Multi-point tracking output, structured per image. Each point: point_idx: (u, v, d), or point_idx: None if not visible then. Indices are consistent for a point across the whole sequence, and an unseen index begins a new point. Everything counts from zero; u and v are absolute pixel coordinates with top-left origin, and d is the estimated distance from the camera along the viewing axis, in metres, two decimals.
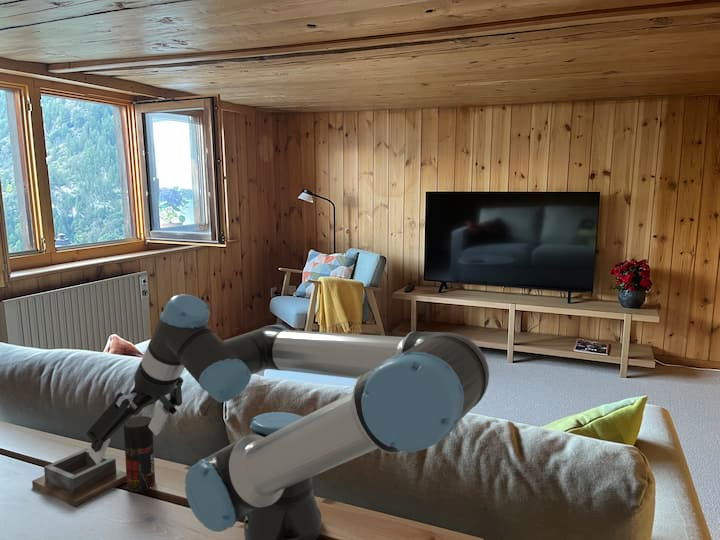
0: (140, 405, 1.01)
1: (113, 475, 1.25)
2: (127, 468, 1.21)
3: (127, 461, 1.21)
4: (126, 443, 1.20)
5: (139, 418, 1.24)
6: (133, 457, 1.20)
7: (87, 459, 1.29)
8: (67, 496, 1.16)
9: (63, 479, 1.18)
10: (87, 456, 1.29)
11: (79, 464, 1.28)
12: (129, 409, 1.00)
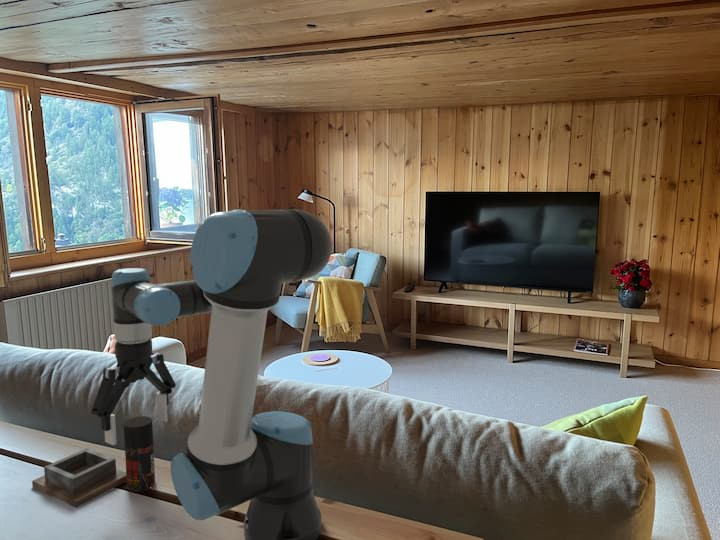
0: (128, 376, 1.17)
1: (113, 475, 1.25)
2: (127, 468, 1.21)
3: (127, 461, 1.21)
4: (126, 443, 1.20)
5: (139, 418, 1.24)
6: (133, 457, 1.20)
7: (87, 459, 1.29)
8: (67, 496, 1.16)
9: (63, 479, 1.18)
10: (87, 456, 1.29)
11: (79, 464, 1.28)
12: (120, 383, 1.17)
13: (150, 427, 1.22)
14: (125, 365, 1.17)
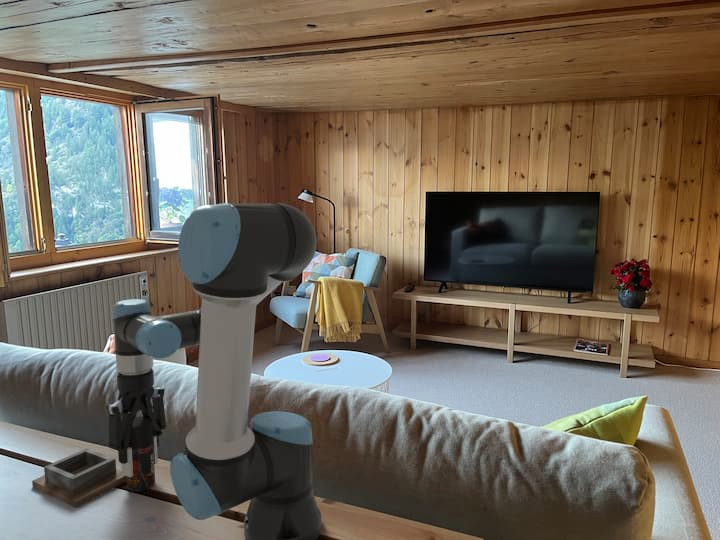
0: (132, 408, 1.19)
1: (113, 475, 1.25)
2: None
3: None
4: None
5: (139, 418, 1.24)
6: (133, 457, 1.20)
7: (87, 459, 1.29)
8: (67, 496, 1.16)
9: (63, 479, 1.18)
10: (87, 456, 1.29)
11: (79, 464, 1.28)
12: (127, 416, 1.19)
13: (150, 427, 1.22)
14: (126, 397, 1.17)
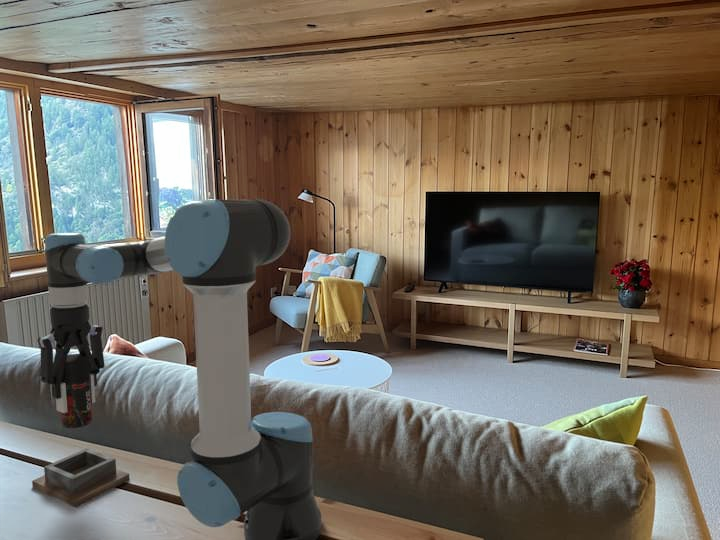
0: (65, 342, 1.17)
1: (113, 475, 1.25)
2: None
3: None
4: None
5: (75, 355, 1.22)
6: (67, 392, 1.18)
7: (87, 459, 1.29)
8: (67, 496, 1.16)
9: (63, 479, 1.18)
10: (87, 456, 1.29)
11: (79, 464, 1.28)
12: (60, 350, 1.17)
13: (85, 363, 1.20)
14: (58, 330, 1.16)
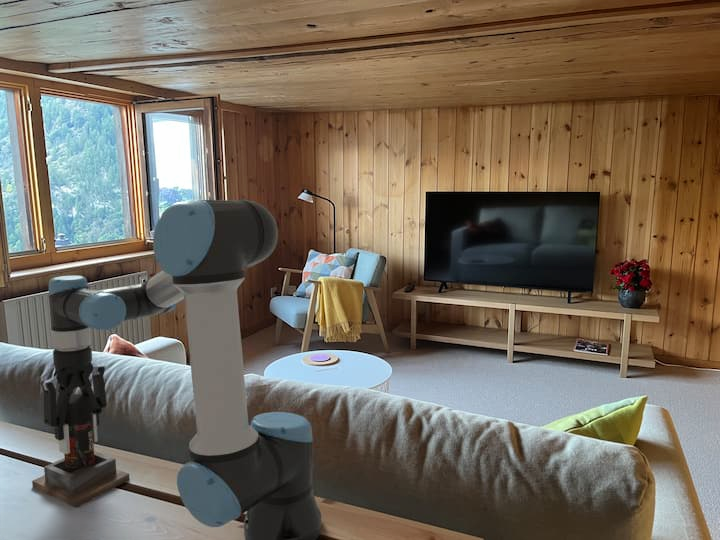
0: (68, 385, 1.18)
1: (113, 475, 1.25)
2: None
3: None
4: None
5: (78, 395, 1.23)
6: (70, 433, 1.20)
7: None
8: (67, 496, 1.16)
9: (63, 479, 1.18)
10: None
11: None
12: (63, 392, 1.18)
13: (88, 404, 1.21)
14: (61, 373, 1.17)
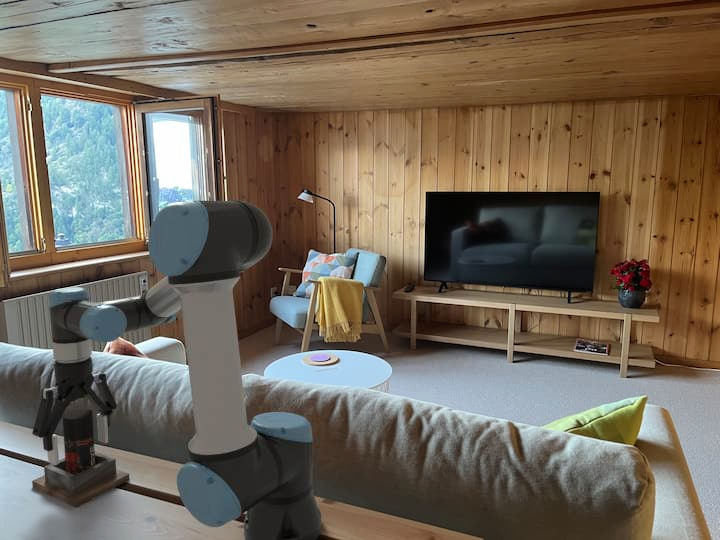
0: (67, 395, 1.18)
1: (113, 475, 1.25)
2: (66, 460, 1.21)
3: (66, 453, 1.21)
4: (65, 435, 1.20)
5: (80, 410, 1.24)
6: (71, 449, 1.20)
7: None
8: (67, 496, 1.16)
9: (63, 479, 1.18)
10: None
11: None
12: (60, 403, 1.18)
13: (90, 419, 1.22)
14: (63, 384, 1.18)
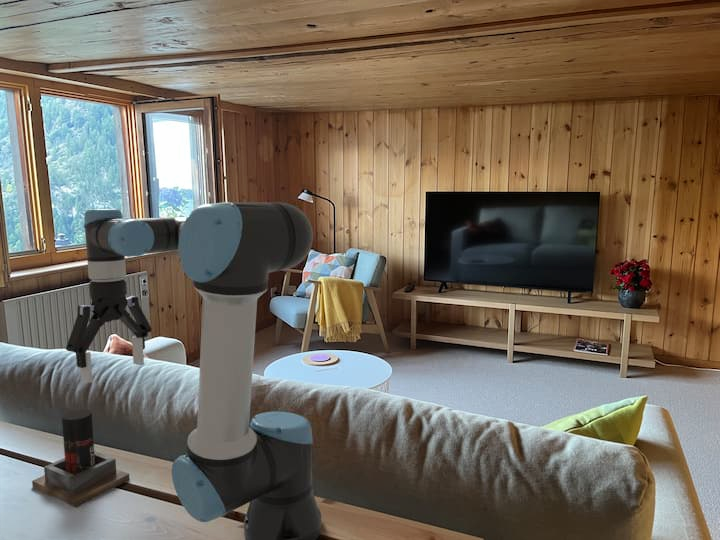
0: (103, 314, 1.18)
1: (113, 475, 1.25)
2: (66, 461, 1.21)
3: (66, 453, 1.21)
4: (64, 436, 1.20)
5: (79, 411, 1.24)
6: (71, 449, 1.20)
7: None
8: (67, 496, 1.16)
9: (63, 479, 1.18)
10: None
11: None
12: (95, 321, 1.18)
13: (89, 420, 1.22)
14: (100, 303, 1.18)
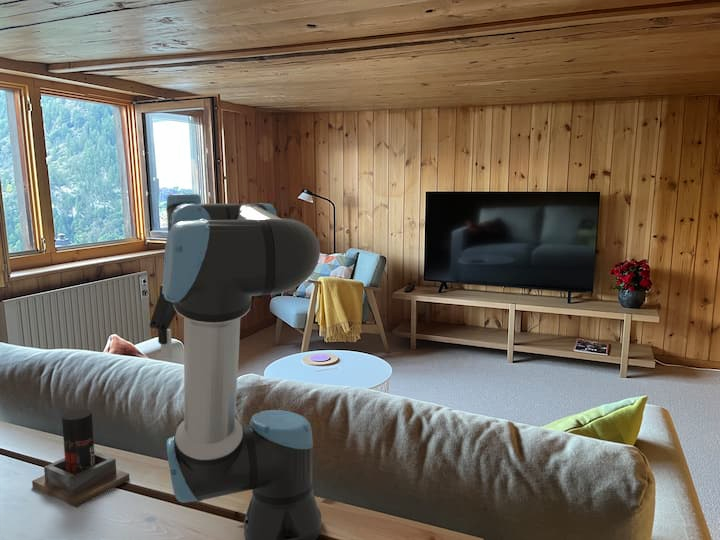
0: None
1: (113, 475, 1.25)
2: (66, 461, 1.21)
3: (66, 453, 1.21)
4: (64, 435, 1.20)
5: (79, 411, 1.24)
6: (71, 449, 1.20)
7: None
8: (67, 496, 1.16)
9: (63, 479, 1.18)
10: None
11: None
12: None
13: (89, 420, 1.22)
14: None
